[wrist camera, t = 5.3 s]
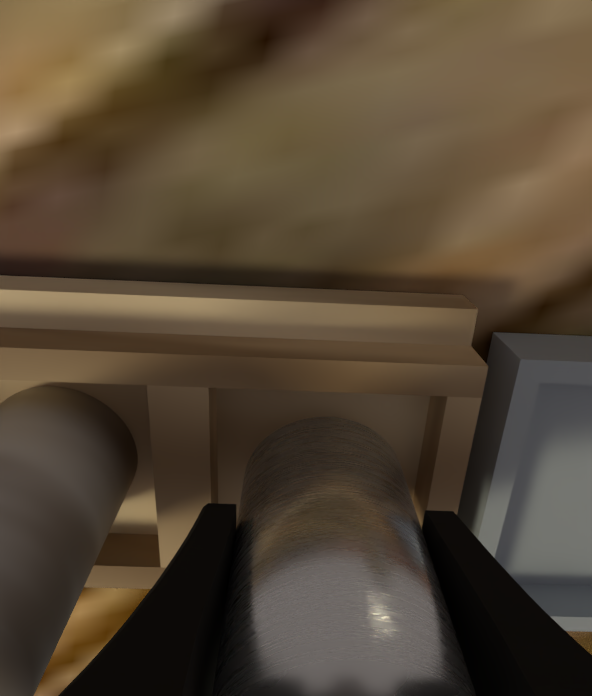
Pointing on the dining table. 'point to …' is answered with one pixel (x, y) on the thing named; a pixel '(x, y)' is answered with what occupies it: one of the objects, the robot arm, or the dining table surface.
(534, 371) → the tray
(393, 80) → the dining table surface
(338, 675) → the cylinder
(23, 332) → the light brown divided box
